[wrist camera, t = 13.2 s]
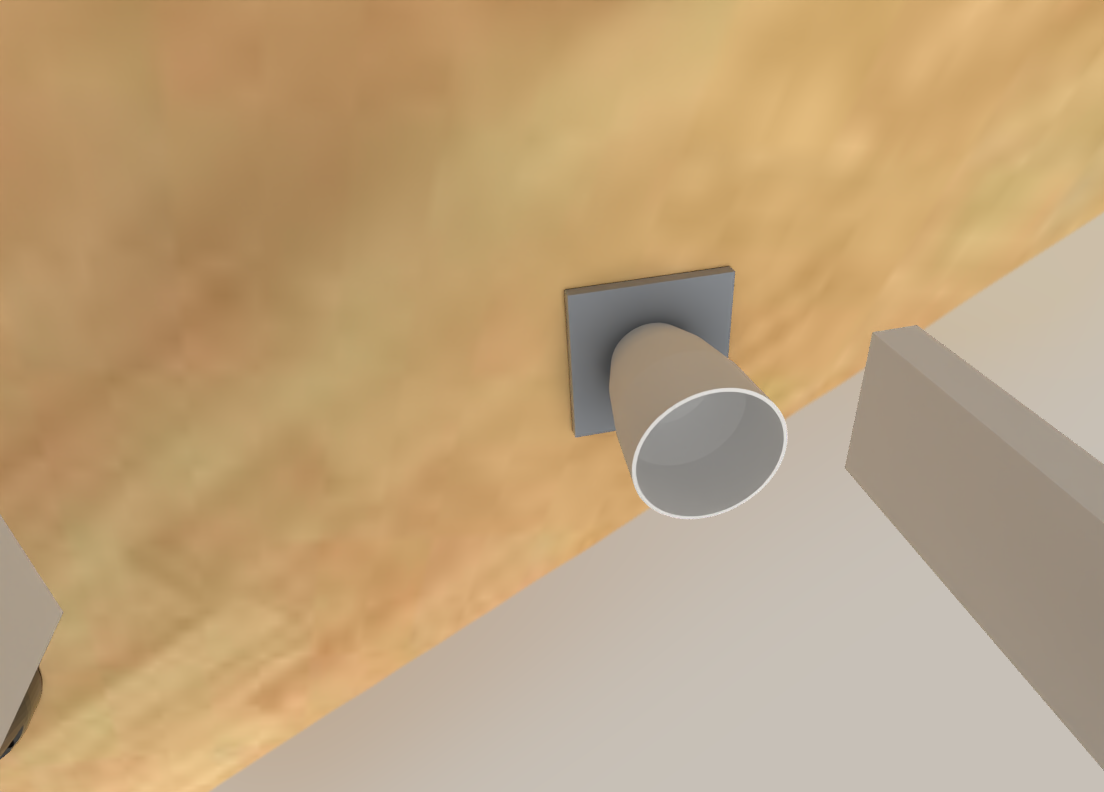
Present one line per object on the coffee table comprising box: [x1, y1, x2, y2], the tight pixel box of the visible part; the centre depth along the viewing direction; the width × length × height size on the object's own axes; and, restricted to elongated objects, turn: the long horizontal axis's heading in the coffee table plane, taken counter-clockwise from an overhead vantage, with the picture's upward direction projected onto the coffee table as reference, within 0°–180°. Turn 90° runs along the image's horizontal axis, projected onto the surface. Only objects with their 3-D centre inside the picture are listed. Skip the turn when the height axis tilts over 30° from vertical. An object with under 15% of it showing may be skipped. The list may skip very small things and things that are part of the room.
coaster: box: [565, 266, 735, 437], centre depth 45 cm, size 10×10×1 cm
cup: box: [609, 323, 787, 519], centre depth 40 cm, size 8×8×10 cm
